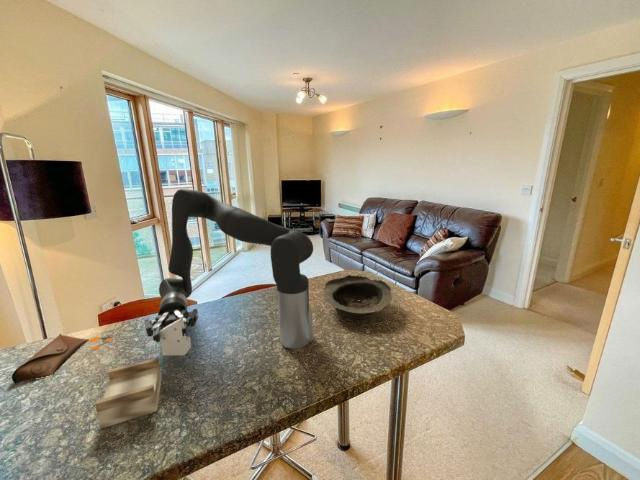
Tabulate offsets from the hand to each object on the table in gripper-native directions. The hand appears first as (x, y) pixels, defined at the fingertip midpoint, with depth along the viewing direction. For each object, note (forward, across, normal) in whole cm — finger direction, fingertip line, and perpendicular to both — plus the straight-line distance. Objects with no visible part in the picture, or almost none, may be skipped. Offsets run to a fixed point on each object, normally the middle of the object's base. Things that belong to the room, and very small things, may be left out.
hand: (170, 335), depth 71 cm
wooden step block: (+7, -8, +10) cm, 15 cm away
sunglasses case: (-21, -32, +10) cm, 39 cm away
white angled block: (-2, +1, +6) cm, 7 cm away
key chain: (-25, -22, +10) cm, 35 cm away
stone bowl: (-7, +60, +11) cm, 61 cm away
